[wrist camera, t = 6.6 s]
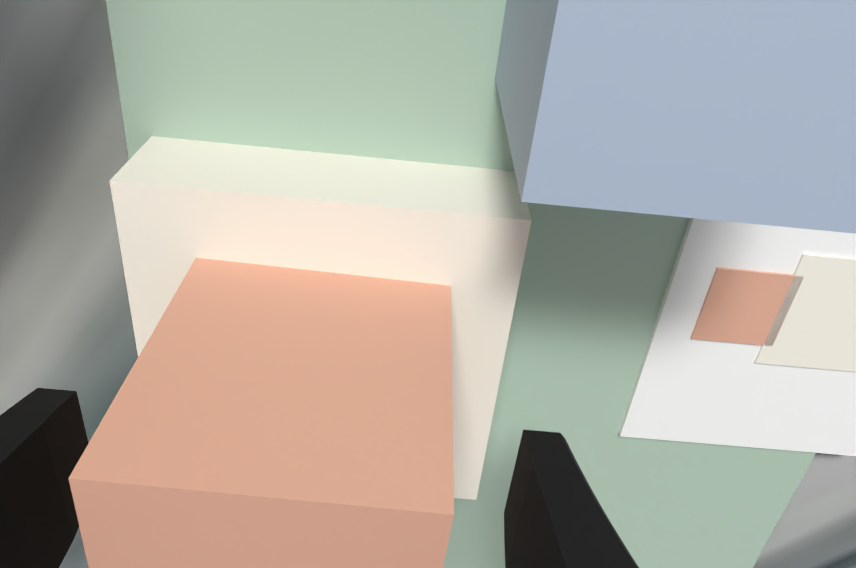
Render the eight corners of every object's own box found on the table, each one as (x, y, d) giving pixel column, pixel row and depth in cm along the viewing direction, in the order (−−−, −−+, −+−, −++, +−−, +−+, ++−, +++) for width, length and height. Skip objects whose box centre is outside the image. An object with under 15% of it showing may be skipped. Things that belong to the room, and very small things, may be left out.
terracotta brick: (421, 461, 15) (412, 707, 11) (208, 441, 15) (114, 683, 11) (451, 285, 13) (454, 514, 8) (195, 257, 12) (68, 478, 8)
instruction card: (1042, 146, 13) (1051, 150, 13) (858, 451, 17) (863, 458, 17) (724, 114, 13) (729, 118, 13) (618, 431, 17) (620, 438, 17)
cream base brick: (520, 171, 14) (531, 220, 12) (473, 434, 17) (476, 499, 16) (151, 136, 13) (109, 180, 12) (185, 410, 17) (157, 474, 15)
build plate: (1102, -108, 11) (1127, -106, 11) (682, 669, 24) (687, 684, 23) (87, -224, 11) (73, -227, 10) (203, 635, 23) (199, 650, 23)
